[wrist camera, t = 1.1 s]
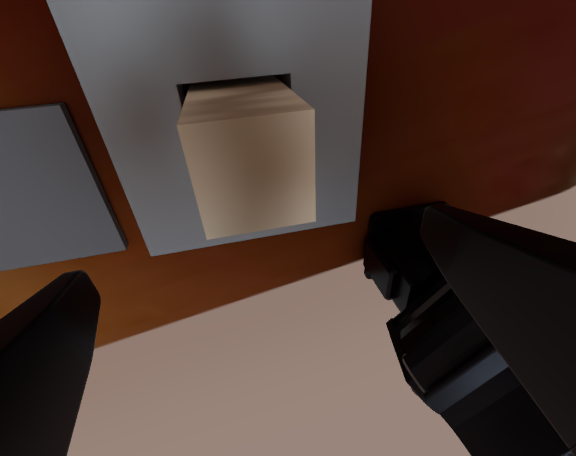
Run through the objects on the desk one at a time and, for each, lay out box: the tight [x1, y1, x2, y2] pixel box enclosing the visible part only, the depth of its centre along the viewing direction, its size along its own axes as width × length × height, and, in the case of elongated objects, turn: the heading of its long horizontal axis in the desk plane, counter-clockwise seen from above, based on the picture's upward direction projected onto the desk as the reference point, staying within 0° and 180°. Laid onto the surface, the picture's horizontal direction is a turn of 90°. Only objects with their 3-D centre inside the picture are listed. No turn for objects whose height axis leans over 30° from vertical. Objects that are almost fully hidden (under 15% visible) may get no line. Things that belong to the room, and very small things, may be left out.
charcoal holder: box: [46, 0, 372, 256], centre depth 17 cm, size 13×13×2 cm
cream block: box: [177, 76, 316, 240], centre depth 14 cm, size 4×4×8 cm
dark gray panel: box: [0, 103, 128, 271], centre depth 17 cm, size 9×9×1 cm
